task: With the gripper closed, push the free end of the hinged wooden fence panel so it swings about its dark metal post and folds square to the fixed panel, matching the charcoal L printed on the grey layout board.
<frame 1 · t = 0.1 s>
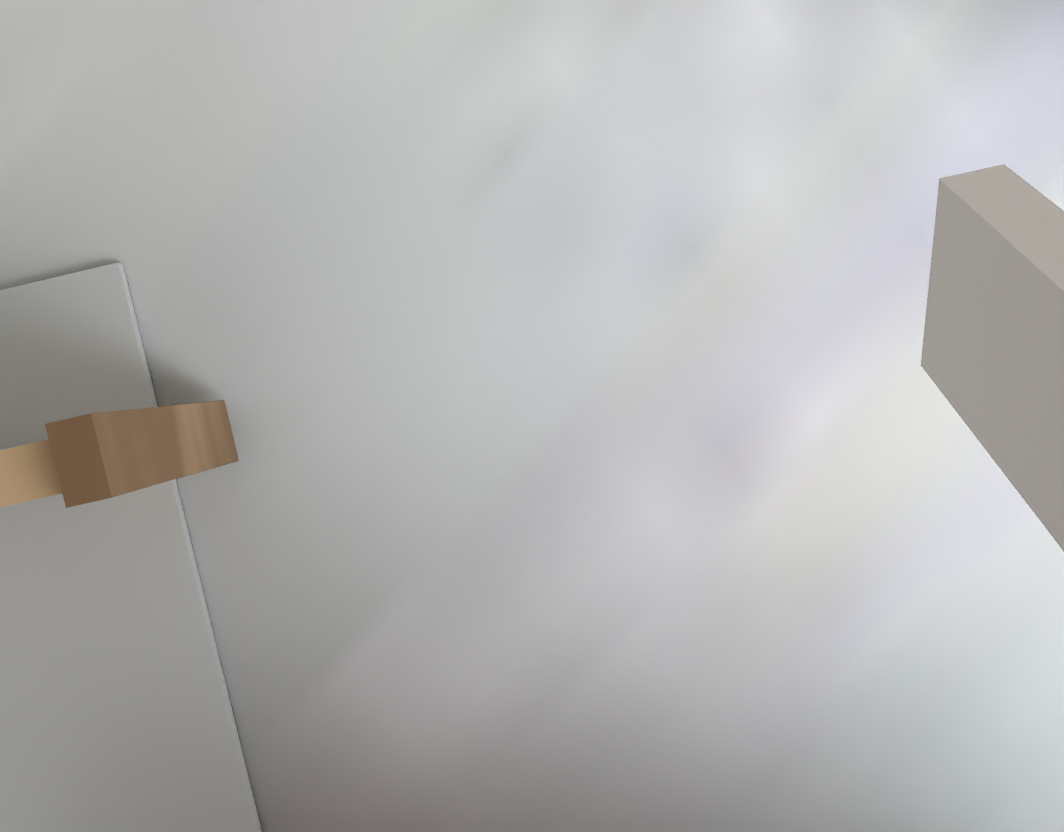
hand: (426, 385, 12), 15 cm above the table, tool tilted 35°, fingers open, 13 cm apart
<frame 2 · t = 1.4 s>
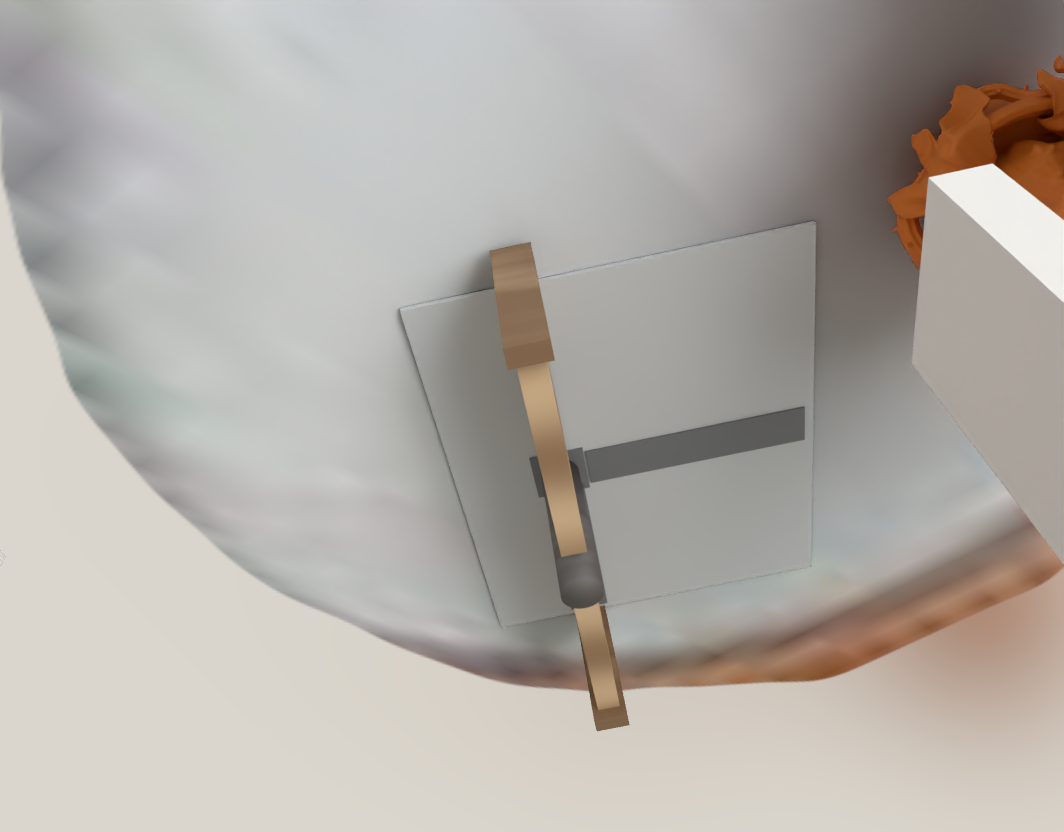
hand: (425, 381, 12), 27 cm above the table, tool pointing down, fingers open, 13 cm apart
fence panel fixed: (559, 472, 48), resting on layout board
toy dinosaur: (987, 153, 40), on the table, touching arm
fence panel hinged: (543, 408, 41), point 4 cm above the table, hinge at 0.0°
layout board: (633, 453, 49), on the table
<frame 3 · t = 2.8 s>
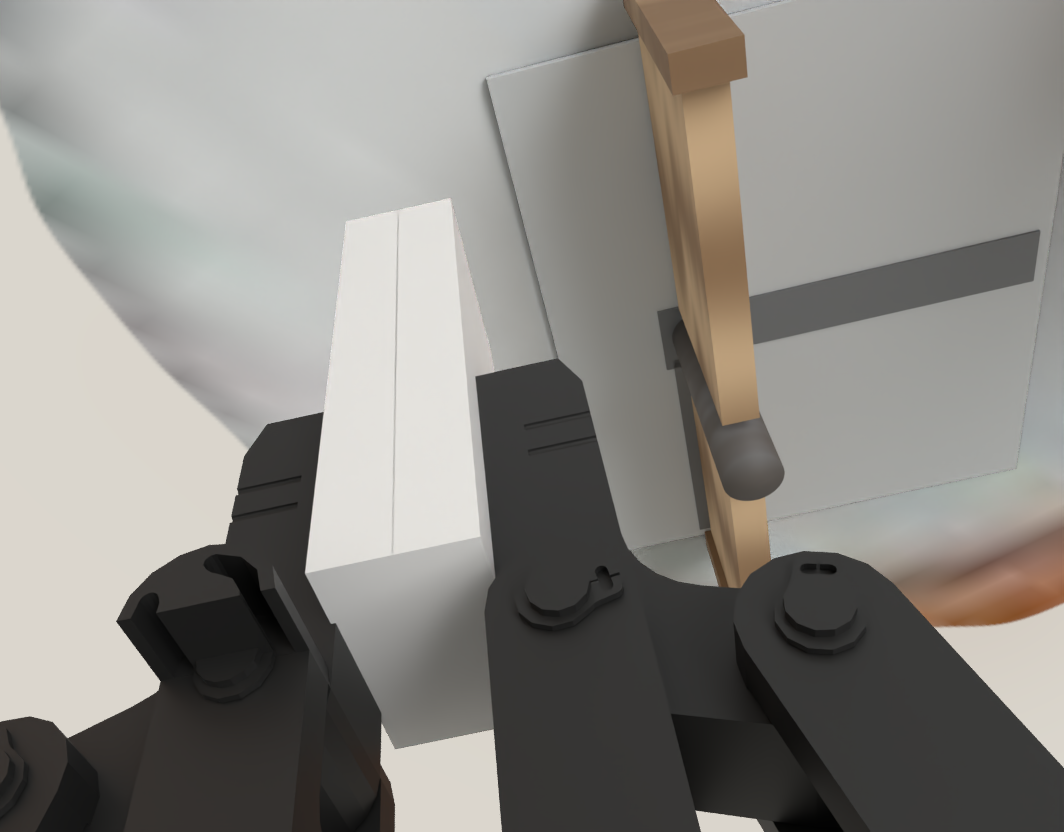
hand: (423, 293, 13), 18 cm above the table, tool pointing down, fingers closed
fence panel fixed: (697, 332, 36), resting on layout board
fence panel hinged: (698, 206, 28), point 4 cm above the table, hinge at 0.0°
layout board: (796, 305, 36), on the table
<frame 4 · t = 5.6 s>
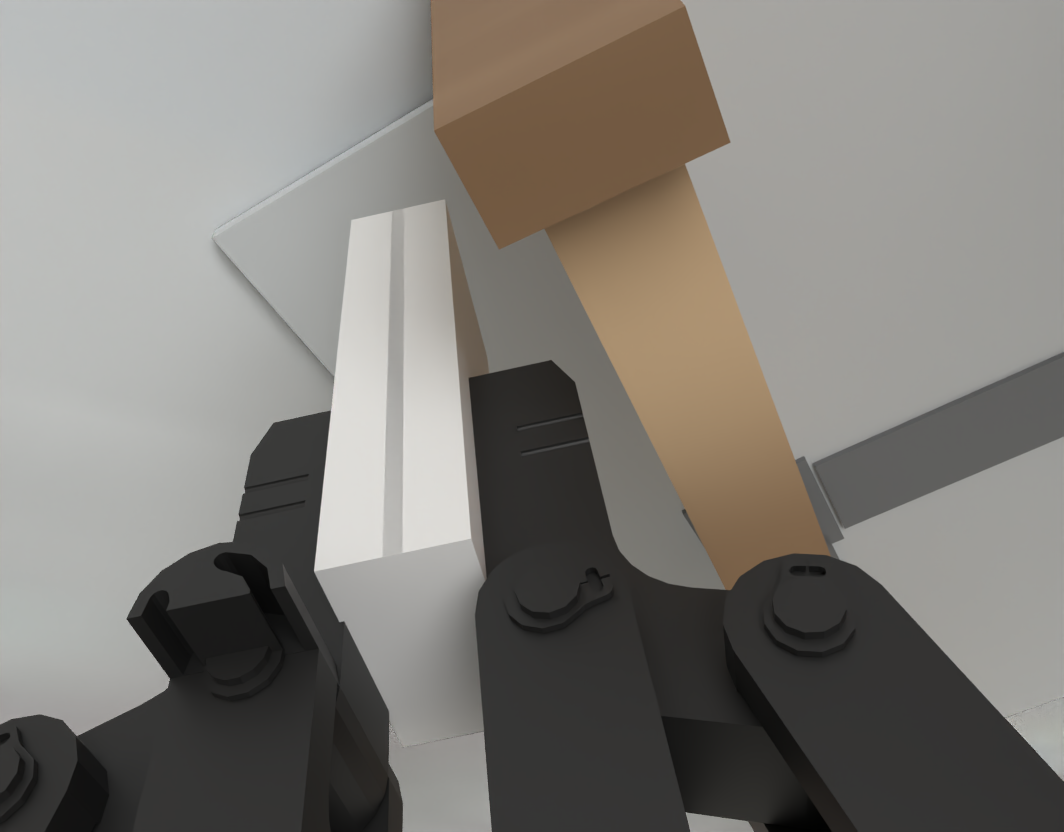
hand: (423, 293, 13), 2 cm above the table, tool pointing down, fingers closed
fence panel hinged: (702, 388, 13), point 4 cm above the table, hinge at 4.2°, touching gripper
layout board: (934, 437, 20), on the table
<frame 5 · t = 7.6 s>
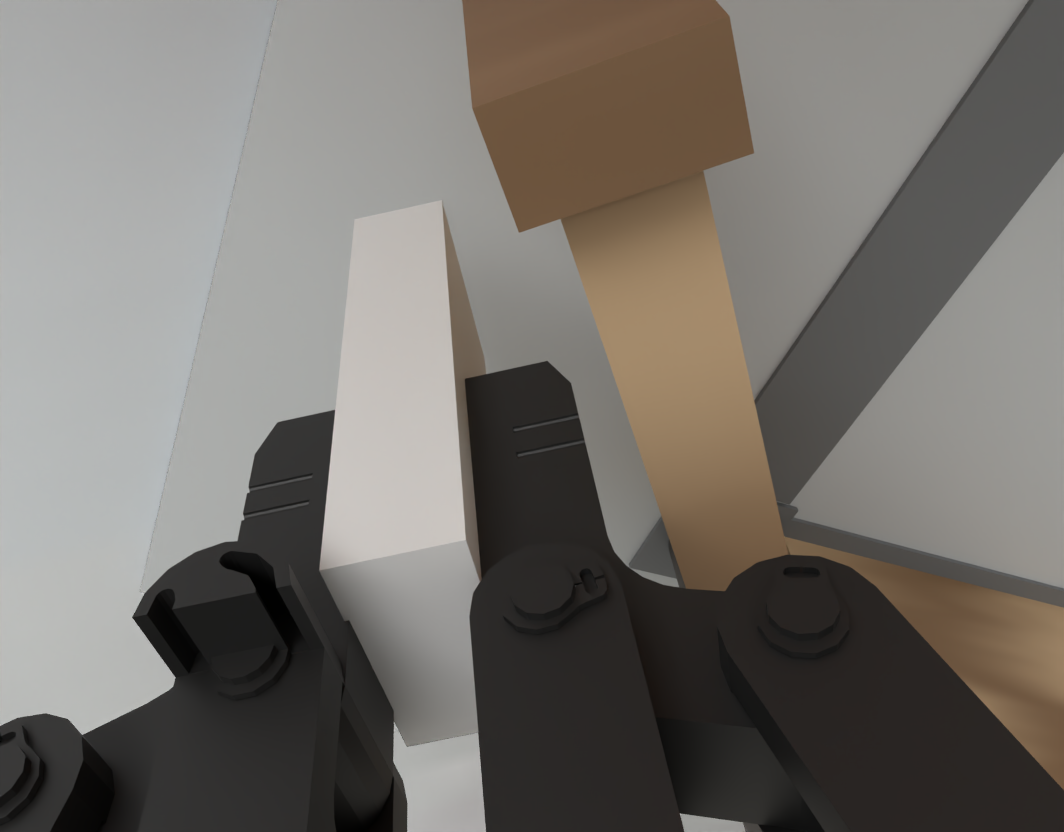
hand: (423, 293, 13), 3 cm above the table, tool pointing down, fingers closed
fence panel fixed: (711, 536, 21), resting on layout board
fence panel hinged: (676, 395, 13), point 4 cm above the table, hinge at 49.3°, touching gripper
layout board: (804, 393, 19), on the table
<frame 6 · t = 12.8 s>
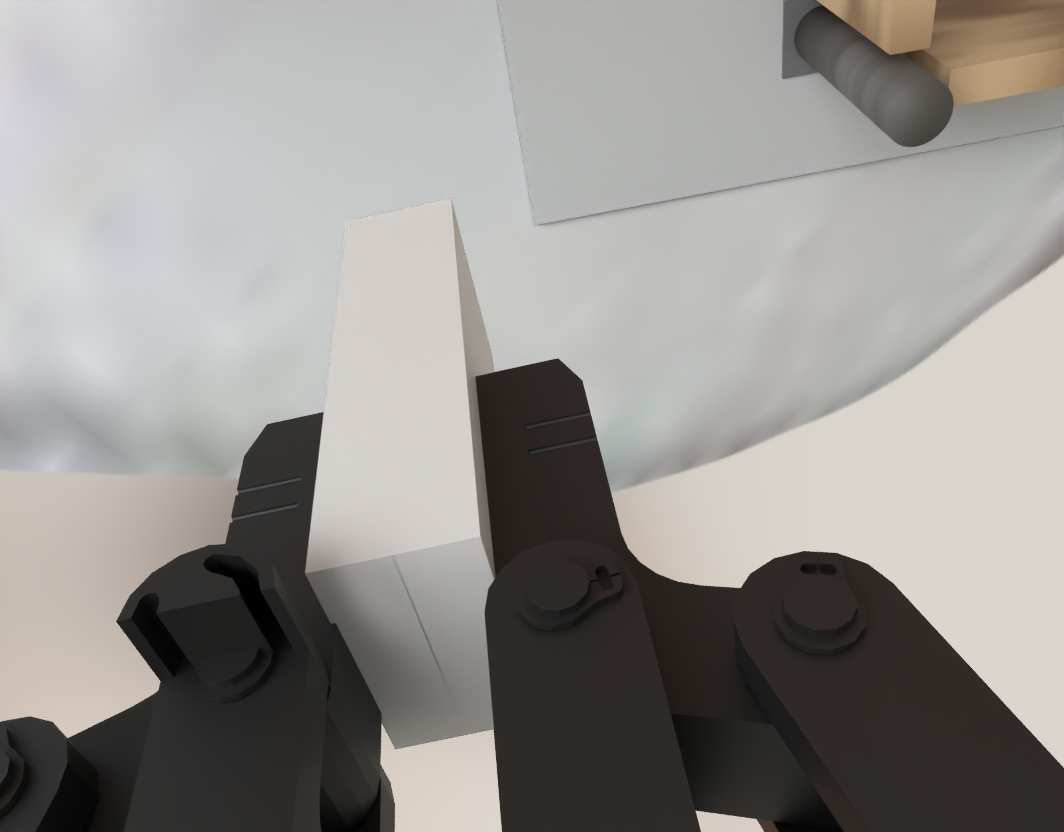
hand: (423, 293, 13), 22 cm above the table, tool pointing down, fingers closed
fence panel fixed: (820, 32, 34), resting on layout board
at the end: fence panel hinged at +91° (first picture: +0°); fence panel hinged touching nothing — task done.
